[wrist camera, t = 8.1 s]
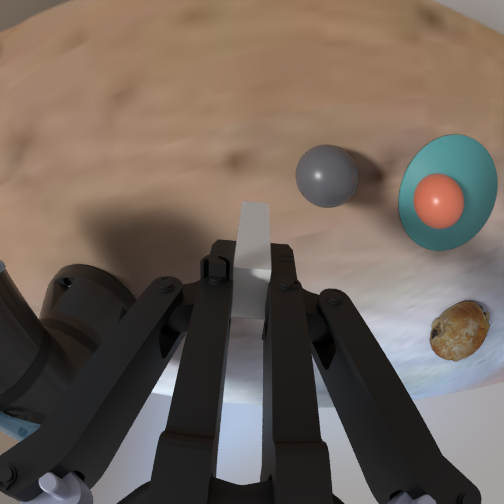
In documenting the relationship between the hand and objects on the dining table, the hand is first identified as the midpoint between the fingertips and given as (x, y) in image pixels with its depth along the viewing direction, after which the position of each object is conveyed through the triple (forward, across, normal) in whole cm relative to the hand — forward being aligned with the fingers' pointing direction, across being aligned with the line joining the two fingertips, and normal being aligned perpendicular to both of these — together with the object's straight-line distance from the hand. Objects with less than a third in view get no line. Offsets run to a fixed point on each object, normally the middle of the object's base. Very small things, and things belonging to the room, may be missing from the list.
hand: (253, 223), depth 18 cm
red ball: (+9, -18, 0) cm, 20 cm away
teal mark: (+11, -22, 0) cm, 24 cm away
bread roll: (+12, -33, +19) cm, 39 cm away
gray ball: (+9, -6, -1) cm, 11 cm away
